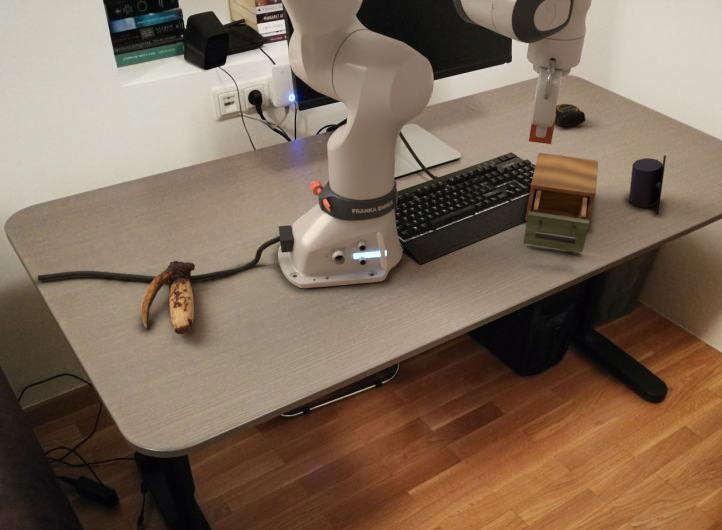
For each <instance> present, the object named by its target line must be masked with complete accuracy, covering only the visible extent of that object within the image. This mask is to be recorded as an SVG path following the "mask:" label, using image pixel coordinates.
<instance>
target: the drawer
mask: <svg viewBox="0 0 722 530" xmlns="http://www.w3.org/2000/svg"><path fill="white" fill-rule="evenodd" d="M587 198H588V196H582V195H575V194H568V193H561V192H554V191H547V190H540V189H537V194H536V199H535V204H534V209H533V212H531V211H529V213H528V219H527V221H526V224H525V225H526V226H525V232H524V238H523V244H525V245H531V246H536V247H537V246H538V247H543V248H548V249H549V248H550V249H556V250H563V251H569V252H575V253H583V252H584V247H585V244H586V243H585V242H586V238H587V234H588V230H589V226H590V220H585V218H586V209H587Z"/></svg>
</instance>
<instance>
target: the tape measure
mask: <svg viewBox="0 0 722 530" xmlns="http://www.w3.org/2000/svg"><path fill="white" fill-rule="evenodd" d="M555 114H556V119H555V125H558V126H560V127H569V126H575V125H581V124H583V123H584V122H586V114H585V112H583V111H582V110H580V108H579V107H578V106H576V105H574V104H569V103H561V104H560V103H559V104H557V106H556V112H555Z"/></svg>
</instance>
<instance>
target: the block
mask: <svg viewBox="0 0 722 530" xmlns="http://www.w3.org/2000/svg"><path fill="white" fill-rule="evenodd" d="M555 119H556V114H555V118H554V123H553V125H552V126H551V127H547V132H546V136H545V137H544V138H542V137H537V136H536V128H537V126H536V125H533V124H532V122H531V121H530V123H531V124H530V130H529V135H528V142H529V143H539V144H546V145H552V142H553V141H552V140H553V136H554V131H555V125H556V123H555Z"/></svg>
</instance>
